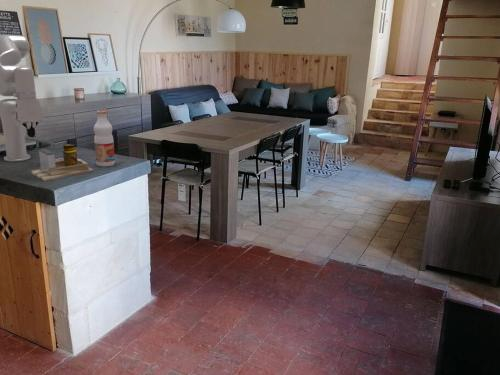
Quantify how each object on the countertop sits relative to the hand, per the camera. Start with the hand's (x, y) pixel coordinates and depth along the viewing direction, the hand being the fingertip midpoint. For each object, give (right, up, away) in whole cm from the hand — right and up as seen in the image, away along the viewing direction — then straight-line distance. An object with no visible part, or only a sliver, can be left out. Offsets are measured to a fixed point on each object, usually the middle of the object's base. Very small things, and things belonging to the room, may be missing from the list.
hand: (31, 136), depth 196 cm
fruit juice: (+24, -11, +31) cm, 40 cm away
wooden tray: (+8, -16, +14) cm, 23 cm away
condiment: (+10, -14, +17) cm, 24 cm away
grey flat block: (+3, -16, +9) cm, 19 cm away
